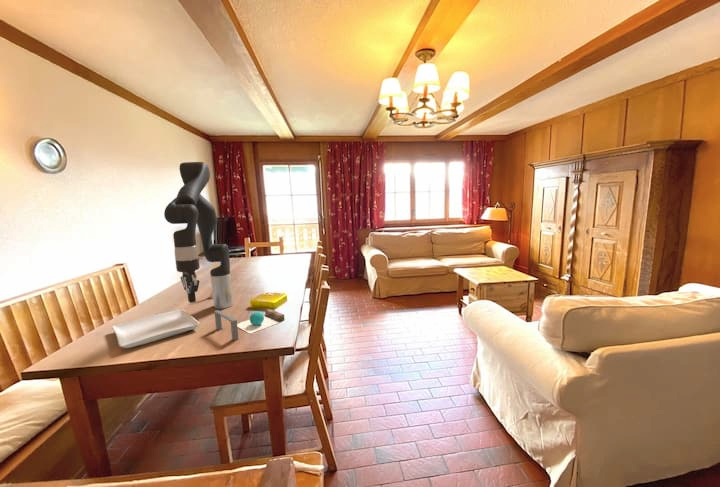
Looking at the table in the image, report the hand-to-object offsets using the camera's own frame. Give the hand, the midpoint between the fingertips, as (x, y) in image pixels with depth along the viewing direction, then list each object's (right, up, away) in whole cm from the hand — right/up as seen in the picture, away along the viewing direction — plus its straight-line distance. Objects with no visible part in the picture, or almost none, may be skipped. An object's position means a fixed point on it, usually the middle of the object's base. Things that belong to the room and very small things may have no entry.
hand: (192, 301), depth 112 cm
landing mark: (+18, -14, +18) cm, 29 cm away
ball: (+19, -11, +17) cm, 28 cm away
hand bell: (-20, -9, +59) cm, 63 cm away
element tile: (+16, -11, +44) cm, 48 cm away
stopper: (+24, -12, +26) cm, 37 cm away
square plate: (-23, -16, +14) cm, 31 cm away
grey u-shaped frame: (+9, -15, +9) cm, 20 cm away
